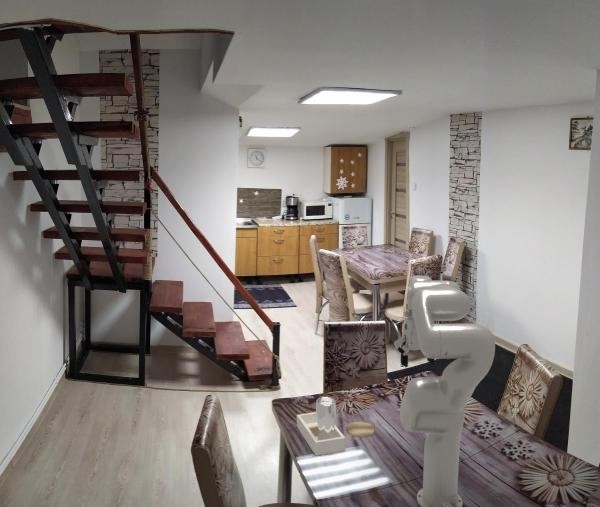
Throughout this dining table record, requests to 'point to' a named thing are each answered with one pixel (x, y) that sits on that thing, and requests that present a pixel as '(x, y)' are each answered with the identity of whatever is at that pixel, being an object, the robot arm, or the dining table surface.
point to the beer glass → (325, 417)
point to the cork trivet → (360, 429)
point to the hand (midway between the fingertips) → (417, 364)
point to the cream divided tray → (310, 434)
